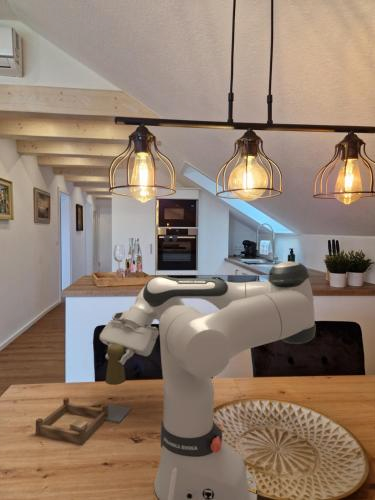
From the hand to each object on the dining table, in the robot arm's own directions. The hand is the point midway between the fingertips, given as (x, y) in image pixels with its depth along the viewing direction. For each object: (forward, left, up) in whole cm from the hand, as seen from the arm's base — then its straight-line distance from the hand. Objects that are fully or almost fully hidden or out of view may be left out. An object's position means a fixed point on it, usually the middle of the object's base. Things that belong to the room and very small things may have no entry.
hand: (114, 361), depth 100 cm
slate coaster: (0, 0, -17) cm, 17 cm away
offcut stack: (+4, +12, -17) cm, 21 cm away
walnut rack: (+8, +9, -17) cm, 20 cm away
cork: (0, -1, -6) cm, 6 cm away
